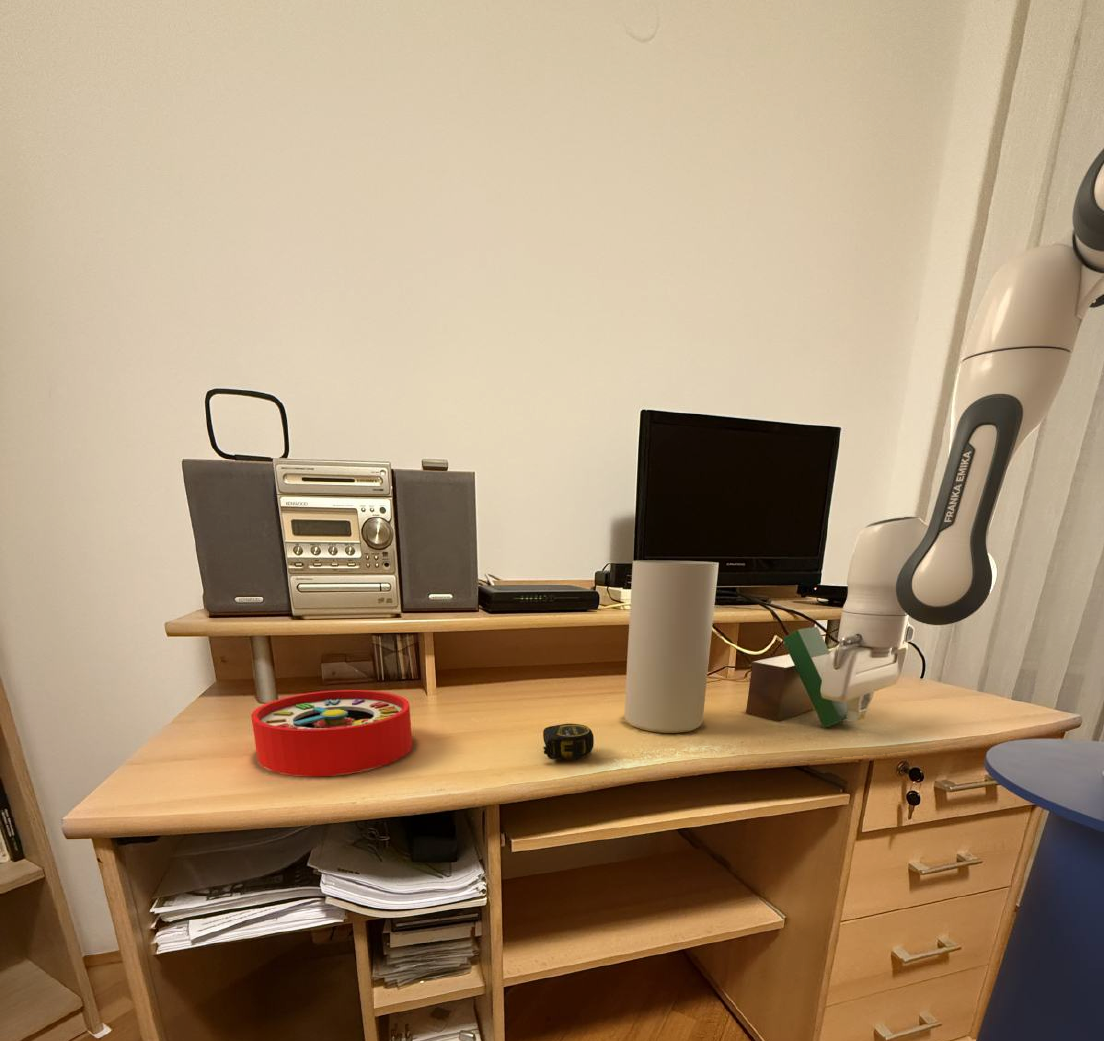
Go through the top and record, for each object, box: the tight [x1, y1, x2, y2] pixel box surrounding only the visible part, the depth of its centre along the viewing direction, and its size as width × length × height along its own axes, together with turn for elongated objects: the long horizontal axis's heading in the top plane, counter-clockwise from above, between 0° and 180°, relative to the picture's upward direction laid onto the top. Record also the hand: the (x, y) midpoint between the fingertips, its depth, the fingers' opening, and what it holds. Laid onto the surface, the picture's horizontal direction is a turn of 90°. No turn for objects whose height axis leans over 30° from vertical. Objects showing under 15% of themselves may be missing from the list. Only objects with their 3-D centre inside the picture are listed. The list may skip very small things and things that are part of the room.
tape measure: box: [542, 723, 595, 760], centre depth 79 cm, size 7×7×4 cm
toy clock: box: [250, 689, 413, 778], centre depth 79 cm, size 20×6×20 cm
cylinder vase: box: [623, 559, 720, 734], centre depth 90 cm, size 12×12×25 cm
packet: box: [781, 626, 847, 729], centre depth 95 cm, size 13×6×13 cm, turn 39°
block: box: [745, 653, 815, 722], centre depth 100 cm, size 6×12×9 cm, turn 130°
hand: (855, 719), depth 92 cm, fingers closed, pressing on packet
